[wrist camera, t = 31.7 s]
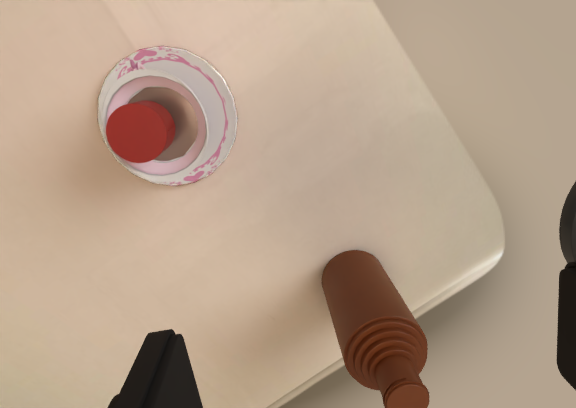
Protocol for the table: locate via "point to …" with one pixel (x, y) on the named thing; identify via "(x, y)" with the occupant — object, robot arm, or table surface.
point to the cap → (140, 131)
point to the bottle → (376, 329)
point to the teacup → (175, 111)
